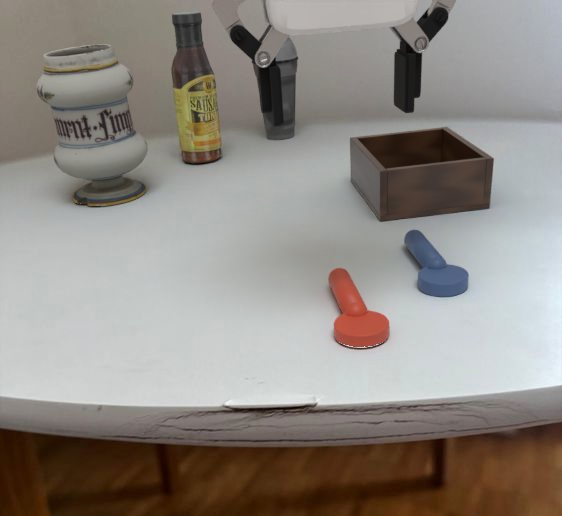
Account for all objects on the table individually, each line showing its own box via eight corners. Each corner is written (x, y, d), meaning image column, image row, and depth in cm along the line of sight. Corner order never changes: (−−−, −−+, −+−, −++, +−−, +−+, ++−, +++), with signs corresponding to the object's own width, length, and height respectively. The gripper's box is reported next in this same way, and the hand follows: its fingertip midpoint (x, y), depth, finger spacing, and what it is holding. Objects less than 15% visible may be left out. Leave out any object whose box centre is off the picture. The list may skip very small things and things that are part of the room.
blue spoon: (390, 248, 71) (390, 229, 69) (432, 243, 71) (432, 224, 70) (425, 299, 60) (426, 278, 59) (475, 293, 61) (476, 272, 59)
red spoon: (314, 287, 64) (312, 267, 63) (360, 281, 64) (360, 261, 63) (339, 352, 54) (339, 329, 53) (395, 345, 54) (395, 322, 53)
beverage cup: (294, 142, 110) (285, -1, 99) (252, 141, 112) (238, 2, 101) (308, 130, 115) (300, -6, 105) (267, 130, 118) (256, -3, 107)
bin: (444, 170, 91) (447, 126, 88) (489, 208, 78) (494, 158, 75) (350, 181, 90) (349, 137, 87) (380, 221, 77) (379, 171, 74)
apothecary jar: (45, 205, 92) (5, 57, 82) (104, 178, 100) (75, 42, 91) (116, 213, 86) (83, 57, 77) (172, 184, 95) (148, 40, 86)
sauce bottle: (201, 167, 101) (180, 15, 91) (173, 162, 105) (150, 15, 95) (233, 156, 105) (216, 9, 95) (205, 151, 109) (186, 9, 99)
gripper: (194, -174, 39) (228, 139, 48) (493, -195, 40) (471, 114, 49) (192, -157, 45) (222, 117, 54) (450, -175, 46) (437, 96, 55)
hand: (340, 115), depth 52 cm, fingers open, 9 cm apart
